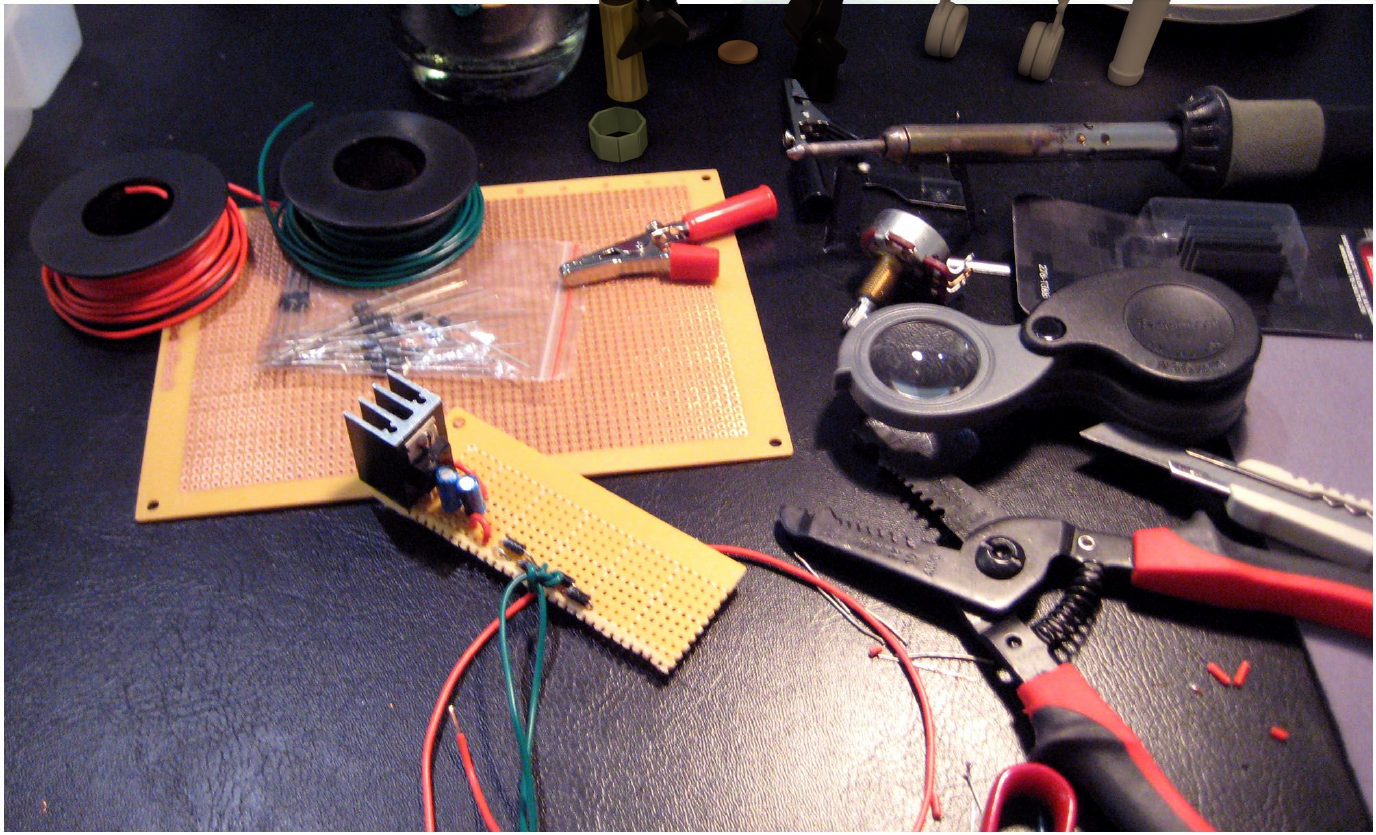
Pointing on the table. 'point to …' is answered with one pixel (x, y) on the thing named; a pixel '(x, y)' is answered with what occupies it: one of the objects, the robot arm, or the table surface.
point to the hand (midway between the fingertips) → (613, 48)
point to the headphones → (1036, 51)
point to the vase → (621, 75)
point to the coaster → (737, 52)
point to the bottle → (1137, 41)
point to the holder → (615, 122)
